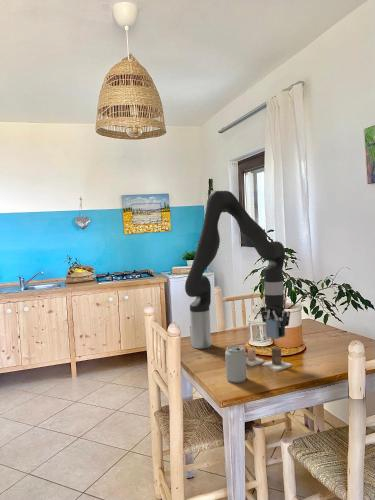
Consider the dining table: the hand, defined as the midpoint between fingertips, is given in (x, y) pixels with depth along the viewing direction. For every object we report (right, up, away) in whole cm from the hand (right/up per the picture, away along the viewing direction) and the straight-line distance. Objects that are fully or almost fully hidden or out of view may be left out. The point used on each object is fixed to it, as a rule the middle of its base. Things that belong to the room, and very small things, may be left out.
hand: (275, 334), depth 155 cm
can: (-17, -15, -10) cm, 24 cm away
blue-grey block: (0, -1, 0) cm, 1 cm away
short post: (-8, -13, +7) cm, 17 cm away
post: (+1, -13, +1) cm, 13 cm away
